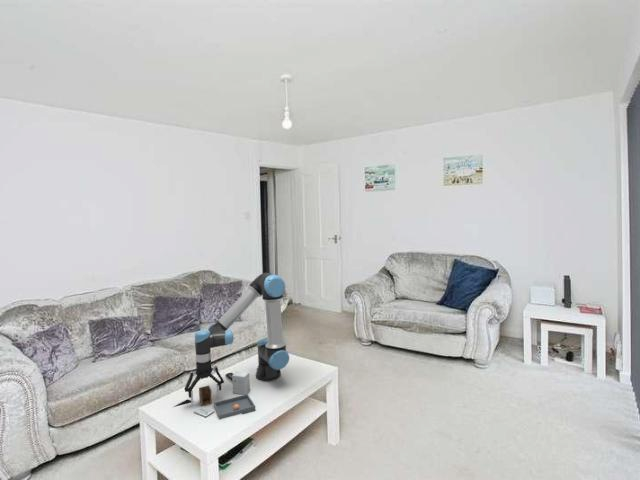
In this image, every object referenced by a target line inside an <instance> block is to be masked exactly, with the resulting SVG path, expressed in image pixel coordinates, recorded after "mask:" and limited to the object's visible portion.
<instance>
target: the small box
mask: <svg viewBox="0 0 640 480" xmlns="http://www.w3.org/2000/svg"><path fill="white" fill-rule="evenodd" d="M231 377H232V378H231V379H232V380H231V381H232V394H233V395H240V396H242V395H246V394H248V393H249V392H250V391H251V382H250V372H246V371H236V372H234V373H233V374H232V375H231Z"/></svg>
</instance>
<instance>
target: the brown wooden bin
mask: <svg viewBox="0 0 640 480" xmlns="http://www.w3.org/2000/svg"><path fill="white" fill-rule="evenodd" d="M198 393H199V394H198V395H199V397H198V398H199V404H200V407H205V406H210V405H212V404H213V403H212V402H213V401H212V399H213V398H212V389H211V387H210V385H206V386H201V387H198Z"/></svg>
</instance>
